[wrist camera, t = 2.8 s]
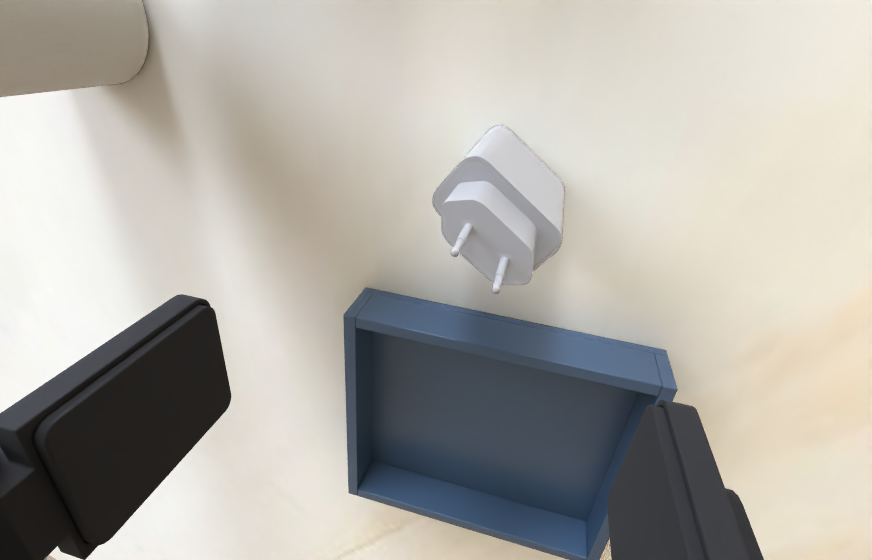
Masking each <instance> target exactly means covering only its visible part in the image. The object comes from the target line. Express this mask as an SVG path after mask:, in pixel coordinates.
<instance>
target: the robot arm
mask: <svg viewBox="0 0 872 560" xmlns="http://www.w3.org/2000/svg"><path fill="white" fill-rule="evenodd" d="M230 401H231V391H230V386H229V381H228V376H227V371H226V366H225V361H224V356H223V350H222V345H221V340H220V335H219V330H218V325H217V320H216V314H215V311H214V309H213V308H211V307H210V304H209V303H208V301H207V300H204V299H201V298H196V297H192V296H187V295H177V296H175V297H173V298H172V299H170V300H169V301H167V302H166V303H164V304H163V305H161V306H160V307H158V308H157V309H155V310H154V311H152V312H151V313H149V314H148V315H146V316H145V317H143V318H142V319H140V320H139V321H137V322H136V323H134V324H133V325H131V326H130V327H128V328H127V329H125V330H124V331H122V332H121V333H119V334H118V335H116V336H115V337H113V338H112V339H110V340H109V341H107V342H106V343H105V344H103V345H102V346H100V347H99V348H97V349H96V350H94V351H93V352H91V353H90V354H88V355H87V356H85V357H84V358H82V359H81V360H79V361H78V362H76V363H75V364H73V365H72V366H70V367H69V368H67V369H66V370H64V371H63V372H61V373H60V374H58V375H57V376H55V377H54V378H52V379H51V380H49V381H48V382H46V383H45V384H43V385H42V386H40V387H39V388H38V389H36V390H35V391H33V392H32V393H30V394H29V395H27V396H26V397H24V398H23V399H21V400H20V401H18V402H17V403H15V404H14V405H12V406H11V407H9V408H8V409H6V410H5V411H3V412H2V413H0V560H46V559H47V556H48V555H49V554H50V553H51V552H52V551H53V550H54V549H55V548H56V547H57V546H58V547H59V549H60V551H61V552H63V553H66V554H69V555H72V556H75V557H77V558H80V559H83V560H85V559H86V558H87V557H88V556H89V555H90V554H91V553H92V552H93V551H94V549H95V548H96V547H97V546H98V545H101V544H104V543H106V542H107V541H109V540H110V539H111V538H112V537H113V536H114V535H115V534H116V532H117V531H118V530H119V529H120V528H121V527H122V526H123V525H124V524H125V522H126V521H127V520H128V519H129V518H130V517H131V516H132V515H133V513H134V512H135V511H136V510H137V509H138V508H139V507H140V506H141V505H142V503H143V502H144V501H145V500H146V499H147V498H148V497H149V496H150V495H151V493H152V492H153V491H154V490H155V489H156V488H157V487H158V486H159V485H160V483H161V482H162V481H163V480H164V479H165V478H166V477H167V476H168V475H169V473H170V472H171V471H172V470H173V469H174V468H175V467H176V466H177V465H178V463H179V462H180V461H181V460H182V459H183V458H184V457H185V456H186V454H187V453H188V452H189V451H190V450H191V449H192V448H193V447H194V446H195V444H196V443H197V442H198V441H199V440H200V439H201V438H202V437H203V436H204V434H205V433H206V432H207V431H208V430H209V429H210V428H211V427H212V426H213V424H214V423H215V422H216V421H217V420H218V419H219V418H220V417H221V416H222V414H223V413H224V412H225V411H226V410H227V408H228V406H229V404H230ZM607 514H608V524H609V535H610V546H611V556H612V560H764V559H763V556H762V554H761V551H760V548H759V546H758V543H757V541H756V538H755V535H754V533H753V530H752V528H751V525H750V522H749V520H748V517H747V515H746V512H745V509H744V507H743V504H742V502H741V501H740V499H739V497H738V495H737V494H736V493H735V492H734V491H733V490H729V489H726V488H725V487H724V484H723V482H722V479H721V476H720V473H719V471H718V468H717V465H716V462H715V459H714V457H713V454H712V451H711V448H710V445H709V443H708V440H707V437H706V434H705V432H704V429H703V426H702V423H701V420H700V418H699V415H698V412H697V410H696V408H694V407H693V406H689V405H684V404H680V403H675V402H671V401H666V400H660V401H659V402H658V403H657V404H656V406H653V405H648V406H646V408H645V410H644V412H643V415H642V417H641V420H640V422H639V424H638V427H637V429H636V431H635V434H634V436H633V438H632V441H631V443H630V446H629V448H628V450H627V453H626V455H625V457H624V460H623V462H622V464H621V467H620V469H619V472H618V474H617V476H616V479H615V481H614V483H613V486H612V488H611V490H610V493H609V497H608V504H607Z"/></svg>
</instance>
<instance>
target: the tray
mask: <svg viewBox="0 0 872 560" xmlns="http://www.w3.org/2000/svg"><path fill="white" fill-rule="evenodd" d="M344 347H345V382H346V417H347V452H348V487H349V493H350V494H353V495H358V496H360V497H364V498H367V499H370V500H374V501H377V502H380V503H383V504H387V505H390V506H393V507H397V508H400V509H403V510H407V511H410V512H413V513H417V514H420V515H423V516H426V517H430V518H433V519H436V520H440V521H443V522H446V523H450V524H453V525H456V526H460V527H463V528H466V529H469V530H473V531H476V532H479V533H483V534H486V535H489V536H493V537H496V538H499V539H503V540H506V541H509V542H512V543H516V544H519V545H522V546H526V547H529V548H532V549H536V550H539V551H542V552H546V553H549V554H552V555H555V556H559V557H562V558H565V559H569V560H599V559H600V557H601V555H602V553H603V551H604V548H605V546H606V544H607V542H608V540H609V537H610V535H609V524H608V514H607V504H608V497H609V493H610V490H611V488H612V486H613V483H614V481H615V479H616V476H617V474H618V472H619V469H620V467H621V464H622V462H623V460H624V457H625V455H626V453H627V450H628V448H629V446H630V443H631V441H632V438H633V436H634V434H635V431H636V429H637V427H638V424H639V422H640V420H641V417H642V415H643V412H644V410H645V408H646V406H648V405H653V406H656V404H657V403H658V402H659V401H660V400H666V401H671V402H672V401H673V399H674V396H675V394H676V392H677V386H676V383H675V379H674V376H673V373H672V369H671V366H670V362H669V359H668V355H667V352H666V350H661V349H656V348H652V347H647V346H642V345H637V344H632V343H628V342H623V341H618V340H613V339H609V338H604V337H599V336H594V335H590V334H585V333H580V332H575V331H570V330H566V329H561V328H556V327H551V326H547V325H542V324H537V323H532V322H527V321H523V320H518V319H513V318H508V317H504V316H499V315H494V314H489V313H485V312H480V311H475V310H470V309H465V308H461V307H456V306H451V305H446V304H442V303H437V302H432V301H427V300H422V299H418V298H413V297H408V296H403V295H399V294H394V293H389V292H384V291H380V290H375V289H370V288H365V289H364V290H363V292H362V293H361V294H360V295H359V297H358V298H357V299H356V300H355V301H354V303H353V304H352V305H351V306H350V308H349V309H348V310H347V311H346V313H345V314H344Z"/></svg>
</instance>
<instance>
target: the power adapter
mask: <svg viewBox="0 0 872 560" xmlns="http://www.w3.org/2000/svg"><path fill="white" fill-rule="evenodd" d="M564 191H565V189H564V184H563V182H562V181H561V180H560V179H559V178H558V177H557V176H556V175H555V174H554V173H553V172H552V171H551V170H550V169H549V168H548V167H547V166H546V165H545V164H544V163H543V162H542V161H541V160H540V159H539V158H538V157H537V156H536V155H535V154H534V153H533V152H532V151H531V150H530V149H529V148H528V147H527V146H526V145H525V144H524V143H523V142H522V141H521V140H520V139H519V138H518V137H517V136H516V135H515V134H514V133H513V132H512V131H511V130H509V129H508V128H507V127H505V126H501V125H498V126H494V127H492V128H491V129H489V130H488V132H487V133H486V134H485V135H484V136H483V137H482V138H481V139H480V141H479V142H478V143H477V144H476V145H475V146H474V147H473V148H472V149H471V151H470V152H469V153H468V154H467V155H466V156H465V157H464V158H463V160H462V161H461V162H460V163H459V164H458V165H457V166H456V168H455V169H454V170H453V171H452V172H451V173H450V174H449V176H448V177H447V178H446V179H445V180H444V181H443V182H442V183H441V185H440V186H439V187H438V188H437V189H436V191H435V192H434V195H433V201H432V202H433V207H434V208H435V210H436V212H437V213H438V214H439V215H440V216H441V223H442V234H443V236H444V238H445V239H446V240H447V242H448V243H449V244H450V245H451V246H453V249H452V250H451V255H452V256H454V257H457V256H458V254H459V253H460V254H461V255H462V256H464V257H465V258H466V259H467V260H468V261H469V262H470V263H471V264H472V265H473V266H474V267H476V268H477V269H478V270H479V271H480V272H481V273H482V274H483V275H484V276H485V277H486V278H488V279H489V280H490V281H492V282H494V284H493V287H492V292H493V293H494V294H498V293H499V291H500V287H501V285H524V284H527V283H529V282H530V280H531V276H532V272H533V271H534V270H535V269H537V268H538V267H539V266H540V265H542V264H543V263H544V262H545V261H546V260H548V259H549V258H550V257H551V256H553V255H554V254H555V253H556V252H557V251H558V250H559V248H560V246H561V243H562V233H563V212H564Z"/></svg>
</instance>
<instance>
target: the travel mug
mask: <svg viewBox="0 0 872 560" xmlns="http://www.w3.org/2000/svg"><path fill="white" fill-rule="evenodd" d="M148 39H149V35H148V24H147V18H146V13H145V9H144V6H143V3H142V0H0V97H5V96H14V95H23V94H32V93H41V92H50V91H59V90H68V89H77V88H86V87H95V86H104V85H113V84H121V83H124V82H127V81H129V80H130V79H132V78H133V77H134V76H136V75H137V73H138V72H139V71H140V69H141V68H142V66H143V64H144V62H145V59H146V55H147V50H148Z"/></svg>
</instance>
